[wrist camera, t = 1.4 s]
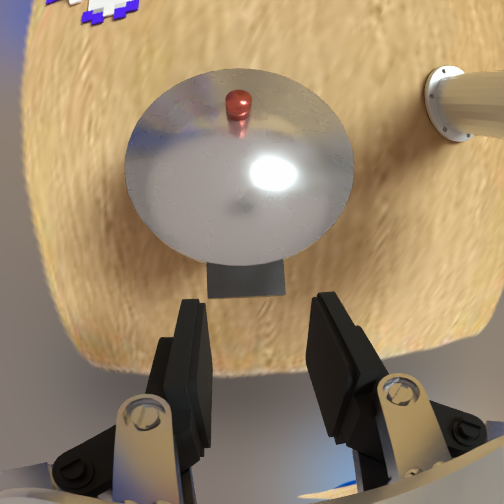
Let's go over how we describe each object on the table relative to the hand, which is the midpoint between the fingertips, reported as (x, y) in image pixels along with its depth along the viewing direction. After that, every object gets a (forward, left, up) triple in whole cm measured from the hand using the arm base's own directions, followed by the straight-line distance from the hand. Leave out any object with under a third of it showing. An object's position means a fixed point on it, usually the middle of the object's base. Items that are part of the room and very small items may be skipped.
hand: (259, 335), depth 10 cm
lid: (0, -4, -15) cm, 16 cm away
